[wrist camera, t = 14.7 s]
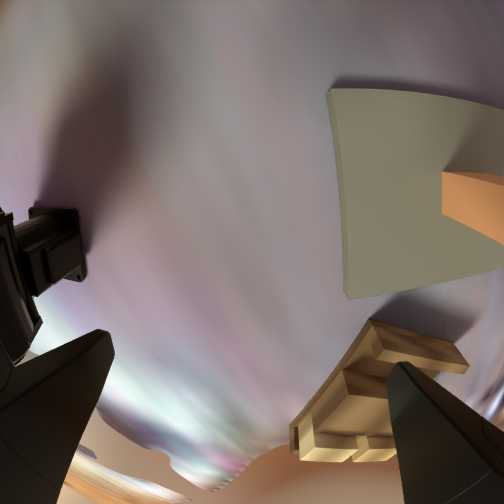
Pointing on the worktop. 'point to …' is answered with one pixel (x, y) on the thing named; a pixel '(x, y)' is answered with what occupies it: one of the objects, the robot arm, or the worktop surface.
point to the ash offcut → (324, 444)
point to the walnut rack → (372, 381)
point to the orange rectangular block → (475, 201)
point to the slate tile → (409, 186)
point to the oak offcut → (374, 448)
